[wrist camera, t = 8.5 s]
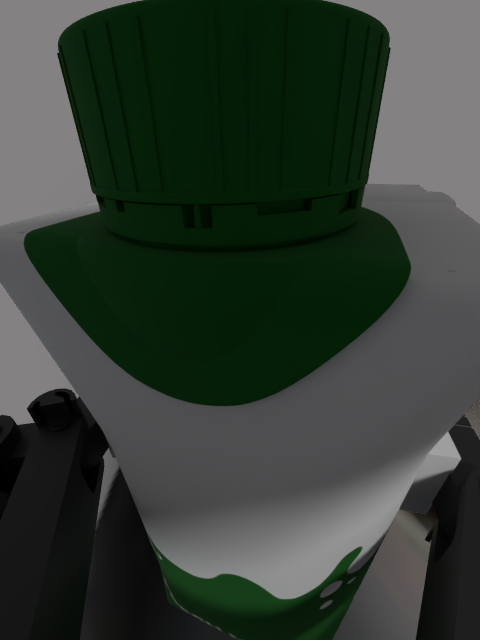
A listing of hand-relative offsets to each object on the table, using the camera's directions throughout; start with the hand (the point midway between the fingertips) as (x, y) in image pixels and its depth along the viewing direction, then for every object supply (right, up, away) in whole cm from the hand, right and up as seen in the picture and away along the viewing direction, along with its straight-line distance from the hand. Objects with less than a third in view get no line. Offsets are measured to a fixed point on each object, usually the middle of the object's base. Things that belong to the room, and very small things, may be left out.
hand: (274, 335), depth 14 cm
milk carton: (-1, -12, +2) cm, 12 cm away
